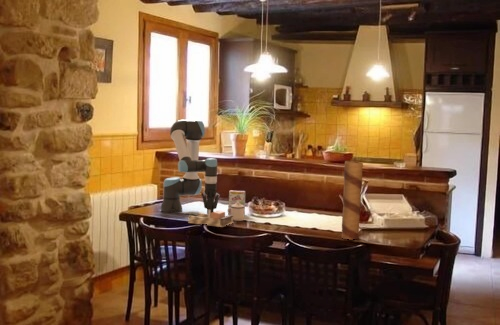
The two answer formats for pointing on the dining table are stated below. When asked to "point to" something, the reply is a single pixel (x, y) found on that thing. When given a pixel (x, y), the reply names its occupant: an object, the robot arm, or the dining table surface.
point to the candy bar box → (236, 198)
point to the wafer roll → (351, 199)
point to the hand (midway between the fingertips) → (210, 219)
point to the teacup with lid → (237, 211)
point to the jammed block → (217, 214)
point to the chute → (211, 220)
